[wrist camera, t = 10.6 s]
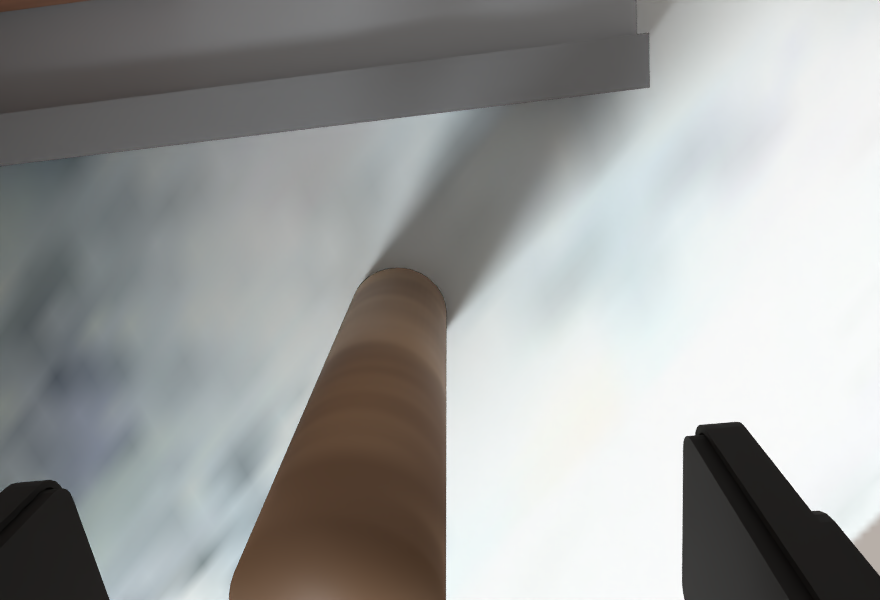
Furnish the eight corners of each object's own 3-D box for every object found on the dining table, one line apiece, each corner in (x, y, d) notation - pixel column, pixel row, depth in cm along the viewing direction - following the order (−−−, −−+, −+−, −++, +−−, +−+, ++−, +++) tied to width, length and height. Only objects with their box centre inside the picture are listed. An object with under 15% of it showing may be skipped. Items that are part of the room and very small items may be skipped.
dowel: (451, 352, 21) (457, 682, 9) (358, 362, 21) (254, 697, 10) (440, 262, 20) (432, 507, 8) (343, 273, 20) (207, 528, 9)
